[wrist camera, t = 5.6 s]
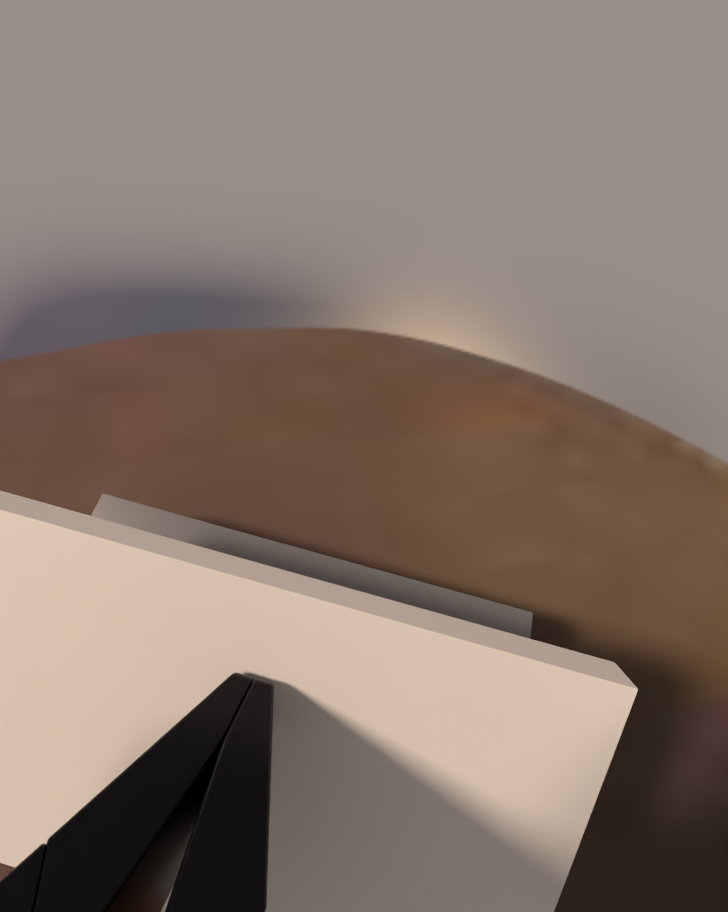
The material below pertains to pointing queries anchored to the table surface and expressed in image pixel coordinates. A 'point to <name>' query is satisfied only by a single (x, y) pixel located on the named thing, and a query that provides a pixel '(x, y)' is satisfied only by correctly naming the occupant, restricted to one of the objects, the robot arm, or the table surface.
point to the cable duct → (315, 565)
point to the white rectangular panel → (301, 716)
